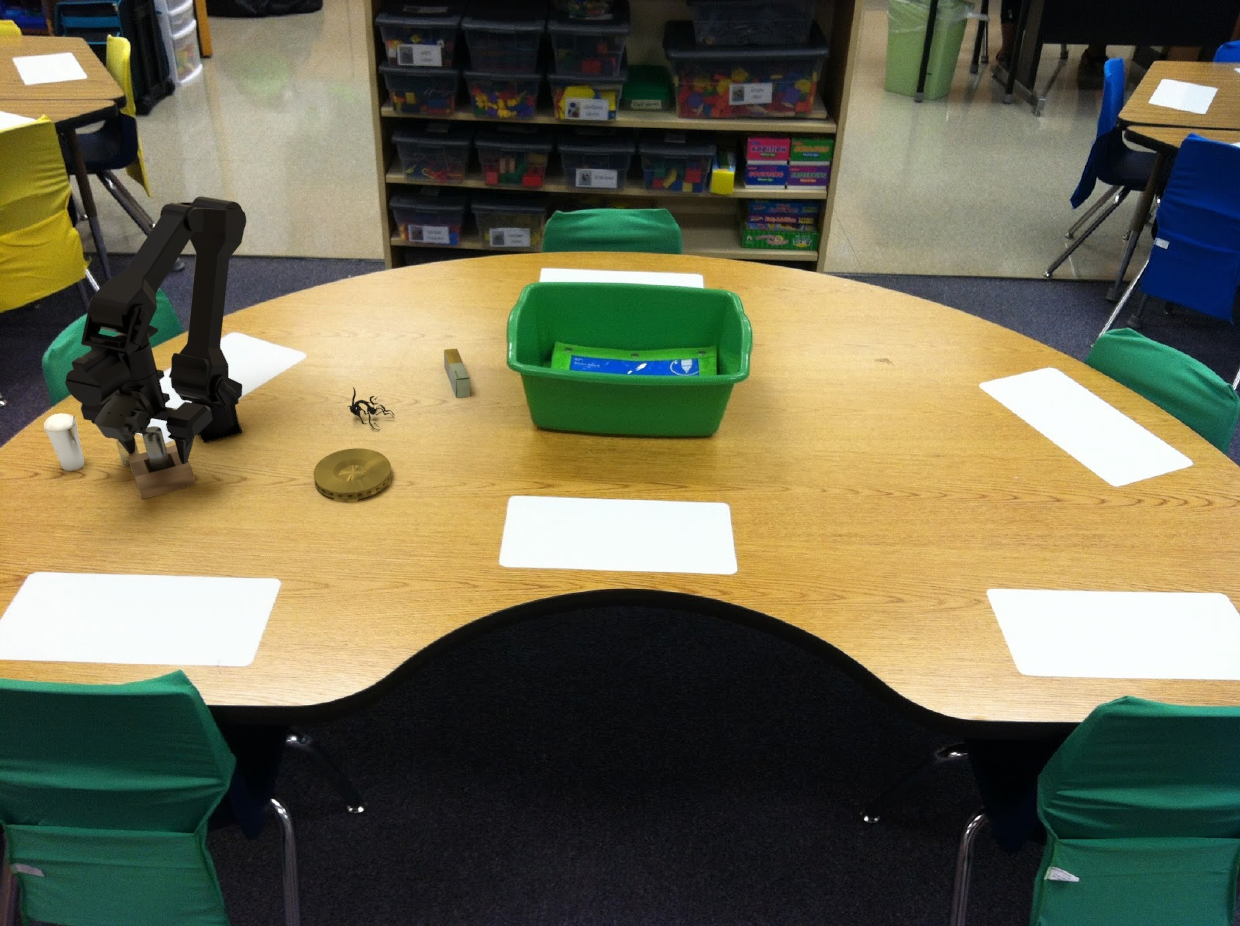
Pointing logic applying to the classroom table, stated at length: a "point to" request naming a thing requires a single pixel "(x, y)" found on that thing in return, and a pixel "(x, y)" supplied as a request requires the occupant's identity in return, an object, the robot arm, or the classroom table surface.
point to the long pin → (156, 448)
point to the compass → (352, 474)
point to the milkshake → (65, 440)
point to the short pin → (126, 453)
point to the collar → (161, 474)
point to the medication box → (456, 373)
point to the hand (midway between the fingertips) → (158, 457)
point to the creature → (369, 408)
